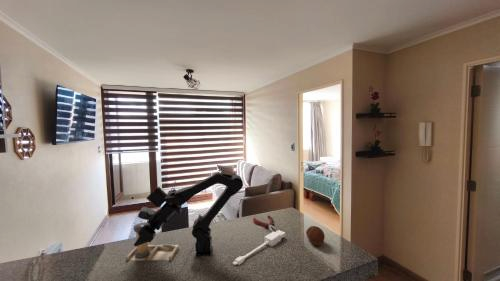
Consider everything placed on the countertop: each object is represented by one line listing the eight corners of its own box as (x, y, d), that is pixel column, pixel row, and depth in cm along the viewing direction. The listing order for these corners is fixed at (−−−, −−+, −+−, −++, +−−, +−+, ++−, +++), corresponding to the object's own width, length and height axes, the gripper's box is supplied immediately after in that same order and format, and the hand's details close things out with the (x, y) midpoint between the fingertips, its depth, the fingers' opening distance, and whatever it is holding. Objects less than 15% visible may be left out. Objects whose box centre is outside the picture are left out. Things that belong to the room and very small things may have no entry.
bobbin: (152, 250, 98) (151, 222, 97) (146, 258, 92) (144, 228, 91) (139, 250, 98) (138, 222, 98) (132, 258, 92) (130, 228, 92)
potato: (315, 235, 112) (315, 220, 111) (330, 247, 101) (330, 230, 100) (302, 237, 110) (302, 222, 109) (315, 250, 99) (315, 233, 98)
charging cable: (230, 265, 91) (229, 257, 90) (277, 234, 114) (277, 228, 113) (238, 270, 87) (238, 262, 87) (285, 237, 110) (285, 231, 110)
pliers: (265, 237, 112) (265, 232, 112) (252, 221, 131) (252, 217, 131) (285, 233, 116) (285, 228, 116) (269, 218, 135) (269, 214, 135)
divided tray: (178, 250, 100) (178, 244, 100) (171, 262, 91) (171, 255, 91) (137, 250, 100) (137, 244, 100) (126, 262, 91) (125, 255, 91)
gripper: (156, 194, 104) (132, 219, 103) (142, 209, 85) (113, 239, 84) (174, 210, 105) (151, 234, 104) (164, 227, 87) (136, 257, 86)
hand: (138, 240), depth 95 cm, fingers open, 9 cm apart
